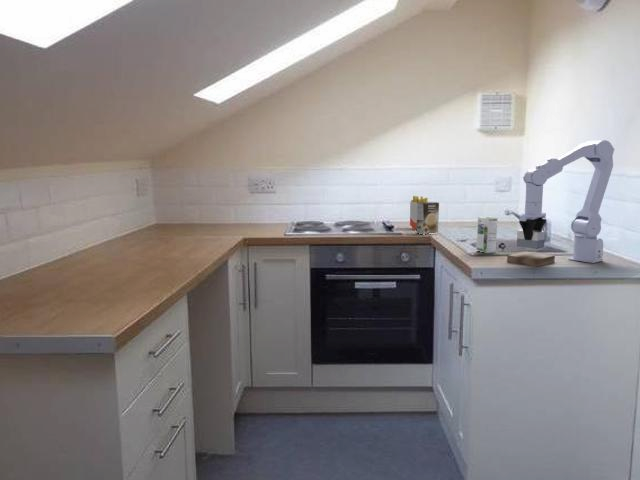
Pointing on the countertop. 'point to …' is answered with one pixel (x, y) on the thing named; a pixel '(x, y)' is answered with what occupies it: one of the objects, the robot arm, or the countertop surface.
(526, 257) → the stand
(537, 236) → the block
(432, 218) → the coffee box
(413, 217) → the french fries container
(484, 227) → the syrup box
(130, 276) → the countertop surface
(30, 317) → the countertop surface
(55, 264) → the countertop surface
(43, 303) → the countertop surface
